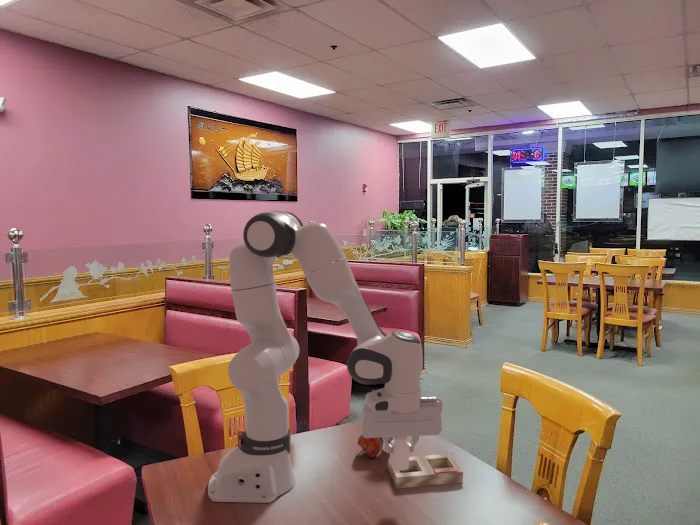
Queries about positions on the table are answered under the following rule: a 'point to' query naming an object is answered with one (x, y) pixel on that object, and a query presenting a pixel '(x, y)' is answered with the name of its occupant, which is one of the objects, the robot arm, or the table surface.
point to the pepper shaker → (400, 453)
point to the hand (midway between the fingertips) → (399, 451)
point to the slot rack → (428, 471)
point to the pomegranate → (369, 446)
